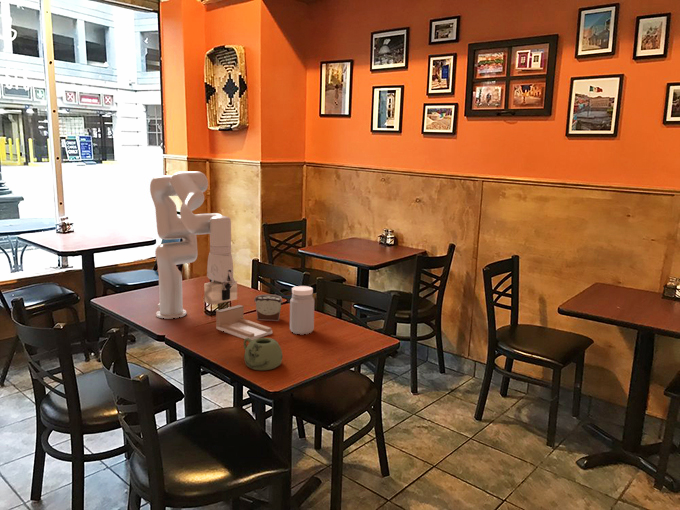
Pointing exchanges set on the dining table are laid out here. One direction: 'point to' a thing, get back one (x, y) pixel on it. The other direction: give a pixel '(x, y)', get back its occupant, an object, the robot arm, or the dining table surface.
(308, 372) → the dining table surface
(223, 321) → the floor frame
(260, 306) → the food container
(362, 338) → the dining table surface
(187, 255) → the robot arm
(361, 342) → the dining table surface
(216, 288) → the beige rectangular block
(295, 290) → the jar
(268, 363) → the green rounded hollow pot
